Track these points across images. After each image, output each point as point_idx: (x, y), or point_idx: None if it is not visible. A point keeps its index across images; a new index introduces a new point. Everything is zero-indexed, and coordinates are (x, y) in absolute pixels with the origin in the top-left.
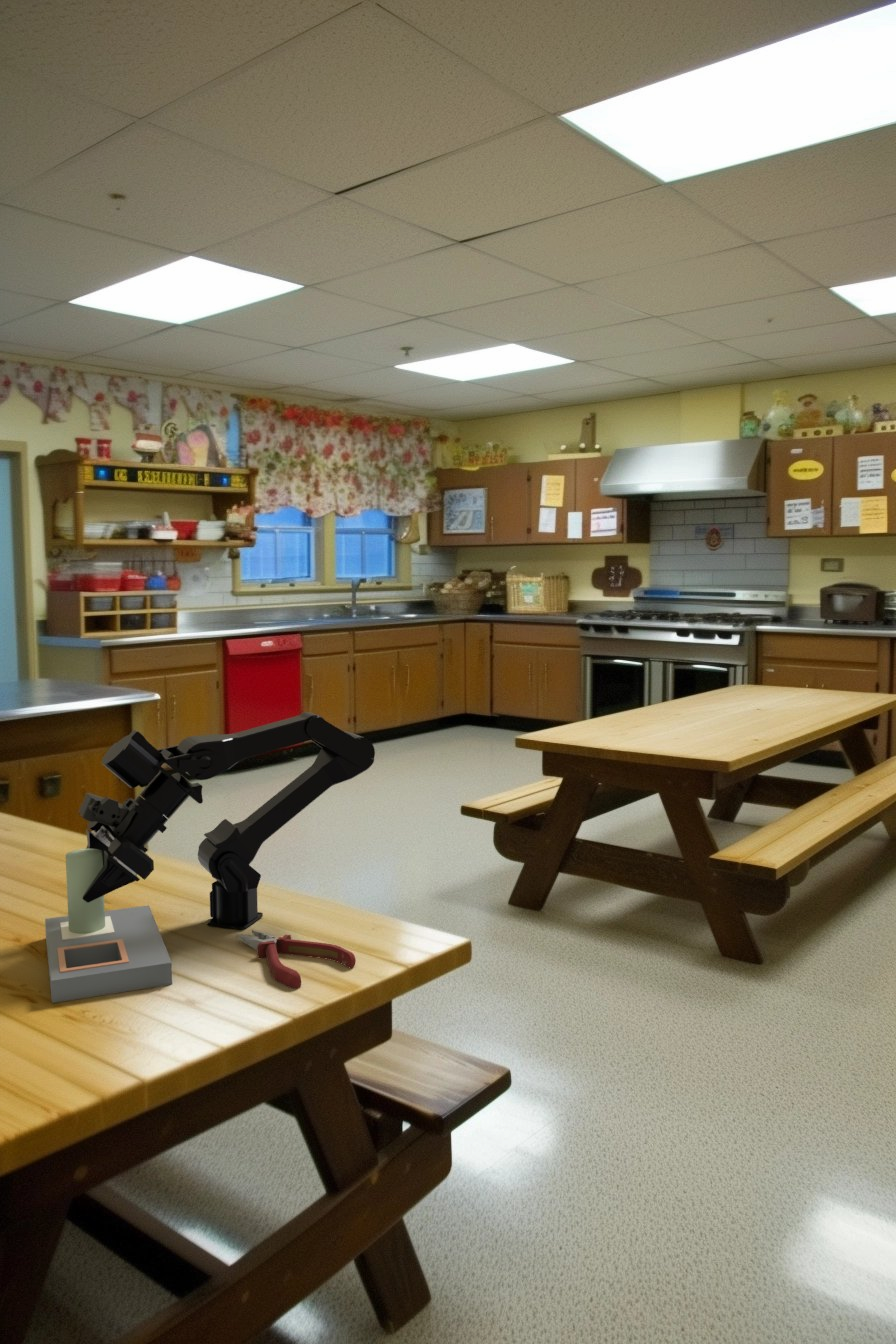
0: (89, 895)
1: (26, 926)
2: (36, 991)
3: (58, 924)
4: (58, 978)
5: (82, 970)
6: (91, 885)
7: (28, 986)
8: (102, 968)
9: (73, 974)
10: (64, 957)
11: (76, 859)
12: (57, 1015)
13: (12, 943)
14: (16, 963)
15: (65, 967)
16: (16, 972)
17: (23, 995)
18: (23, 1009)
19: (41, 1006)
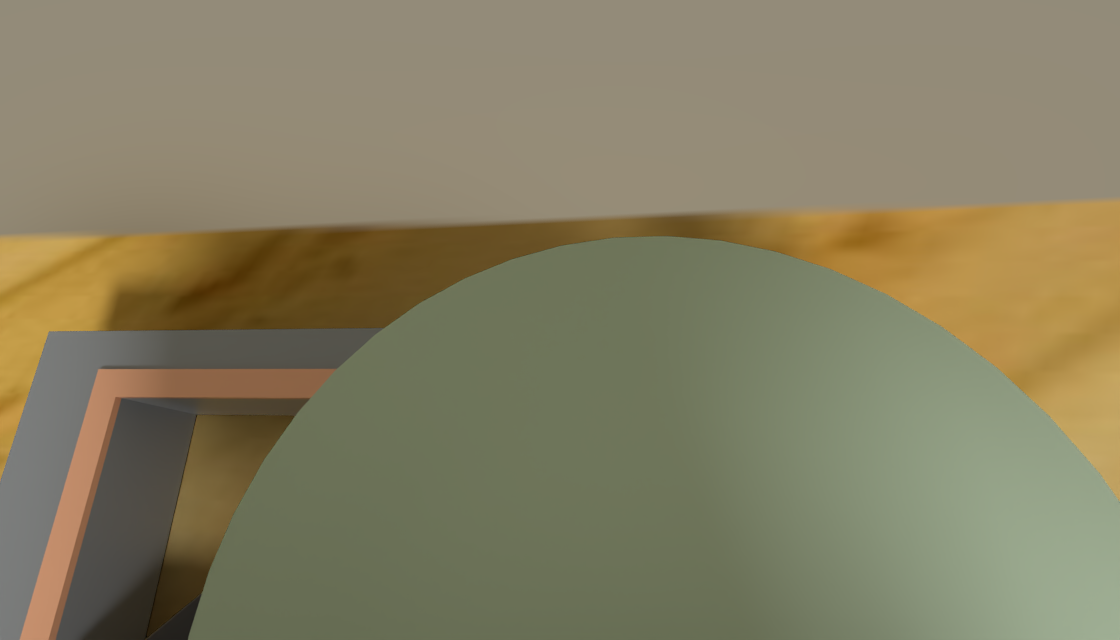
0: None
1: (1063, 269)
2: (264, 308)
3: None
4: (50, 360)
5: (63, 466)
6: (177, 632)
7: (324, 282)
8: (25, 562)
9: (46, 423)
10: (246, 395)
11: (285, 451)
12: (32, 371)
13: (825, 217)
14: (575, 239)
15: (128, 393)
16: (480, 241)
17: (256, 267)
18: (146, 269)
19: (132, 323)
